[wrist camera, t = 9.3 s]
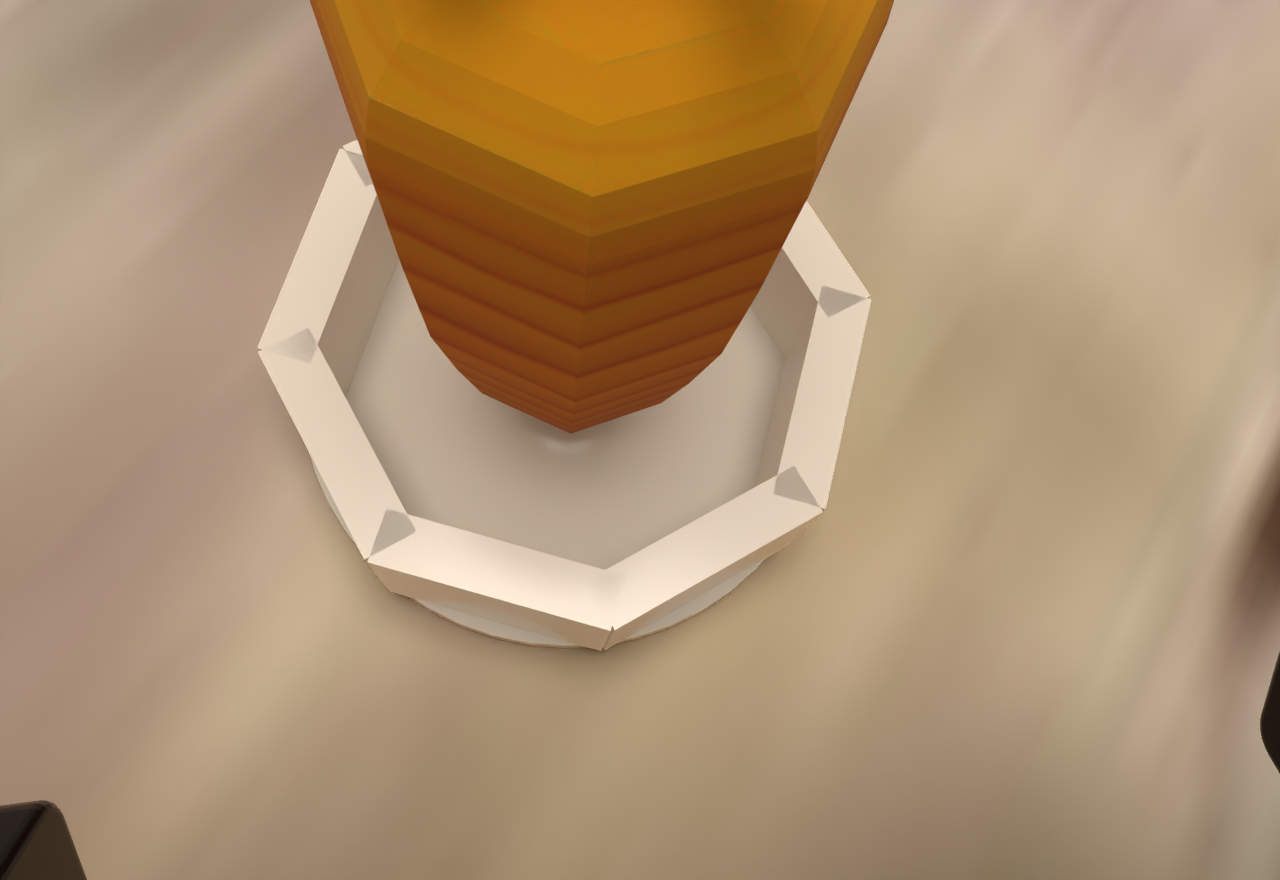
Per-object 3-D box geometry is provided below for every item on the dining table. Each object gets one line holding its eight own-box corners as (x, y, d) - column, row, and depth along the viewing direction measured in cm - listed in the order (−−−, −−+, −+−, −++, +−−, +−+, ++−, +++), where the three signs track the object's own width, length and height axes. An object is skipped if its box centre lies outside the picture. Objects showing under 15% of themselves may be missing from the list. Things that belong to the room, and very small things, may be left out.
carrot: (715, 266, 20) (1185, -1103, 5) (713, 538, 18) (1352, -336, 4) (436, 248, 19) (127, -1273, 5) (410, 524, 18) (-133, -501, 3)
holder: (915, 489, 19) (980, 438, 16) (457, 752, 17) (442, 745, 14) (659, 97, 21) (679, -9, 18) (222, 292, 19) (168, 207, 16)
